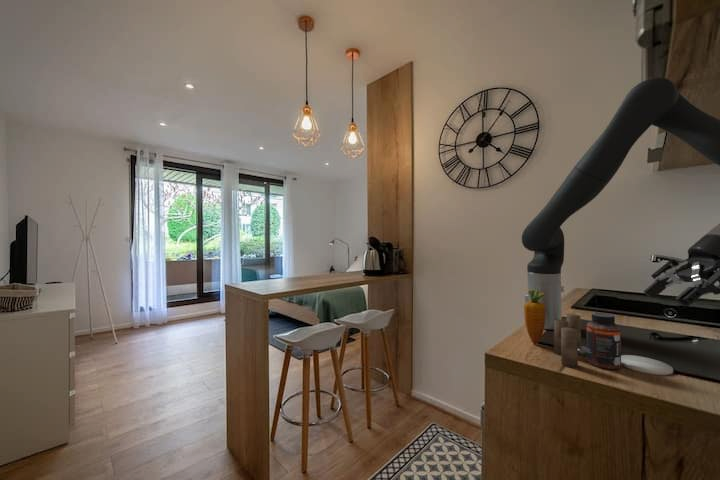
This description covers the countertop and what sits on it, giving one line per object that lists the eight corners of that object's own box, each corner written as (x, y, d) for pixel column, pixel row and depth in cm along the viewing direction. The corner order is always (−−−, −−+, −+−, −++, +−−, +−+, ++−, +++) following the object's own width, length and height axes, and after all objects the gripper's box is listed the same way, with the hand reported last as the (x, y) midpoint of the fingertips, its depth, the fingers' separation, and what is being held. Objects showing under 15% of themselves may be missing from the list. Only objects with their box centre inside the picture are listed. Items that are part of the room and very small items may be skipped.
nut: (569, 352, 74) (569, 347, 74) (579, 349, 75) (579, 344, 75) (587, 358, 70) (587, 353, 70) (597, 355, 72) (597, 350, 72)
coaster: (607, 361, 67) (607, 359, 67) (629, 355, 71) (629, 352, 71) (659, 378, 59) (659, 375, 59) (682, 370, 63) (682, 367, 63)
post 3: (558, 363, 67) (558, 328, 67) (567, 361, 68) (566, 326, 68) (572, 369, 64) (571, 332, 64) (581, 366, 65) (580, 330, 65)
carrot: (536, 340, 82) (535, 286, 82) (550, 347, 77) (549, 289, 77) (520, 341, 81) (519, 287, 81) (533, 348, 76) (532, 290, 76)
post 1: (551, 352, 73) (551, 320, 73) (559, 350, 75) (558, 318, 75) (563, 356, 71) (563, 323, 71) (571, 354, 72) (571, 321, 72)
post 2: (564, 344, 78) (563, 314, 78) (571, 343, 80) (570, 313, 80) (576, 348, 76) (575, 317, 76) (583, 346, 77) (583, 316, 77)
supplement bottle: (628, 371, 63) (627, 318, 62) (596, 369, 64) (595, 317, 64) (610, 360, 68) (609, 311, 68) (581, 358, 70) (580, 310, 70)
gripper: (681, 233, 69) (625, 281, 71) (748, 232, 55) (676, 292, 57) (709, 256, 68) (651, 304, 70) (784, 260, 54) (710, 320, 56)
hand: (663, 299), depth 64 cm, fingers open, 8 cm apart
